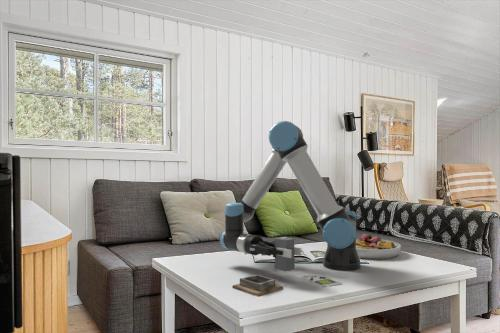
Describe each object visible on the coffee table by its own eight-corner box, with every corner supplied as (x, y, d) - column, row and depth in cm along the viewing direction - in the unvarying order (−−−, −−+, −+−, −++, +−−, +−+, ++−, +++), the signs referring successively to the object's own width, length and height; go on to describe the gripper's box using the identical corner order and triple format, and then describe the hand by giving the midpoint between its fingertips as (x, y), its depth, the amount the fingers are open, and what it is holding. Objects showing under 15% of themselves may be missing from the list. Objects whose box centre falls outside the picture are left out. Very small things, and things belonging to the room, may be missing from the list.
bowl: (406, 262, 175) (406, 244, 175) (335, 259, 181) (335, 241, 181) (395, 248, 205) (395, 233, 205) (335, 246, 211) (335, 231, 211)
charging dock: (257, 281, 145) (257, 272, 145) (282, 288, 136) (282, 279, 136) (232, 287, 136) (232, 278, 137) (257, 296, 128) (257, 286, 128)
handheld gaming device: (317, 273, 155) (342, 283, 141) (317, 274, 155) (342, 285, 141) (298, 275, 151) (322, 286, 137) (298, 277, 151) (322, 288, 137)
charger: (283, 266, 149) (282, 236, 149) (294, 269, 145) (294, 237, 145) (274, 268, 146) (274, 237, 146) (286, 271, 142) (285, 239, 142)
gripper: (266, 250, 165) (311, 259, 148) (233, 257, 153) (279, 267, 136) (266, 232, 165) (311, 239, 148) (233, 237, 153) (278, 245, 136)
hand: (295, 252), depth 142 cm, fingers closed on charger, 4 cm apart
